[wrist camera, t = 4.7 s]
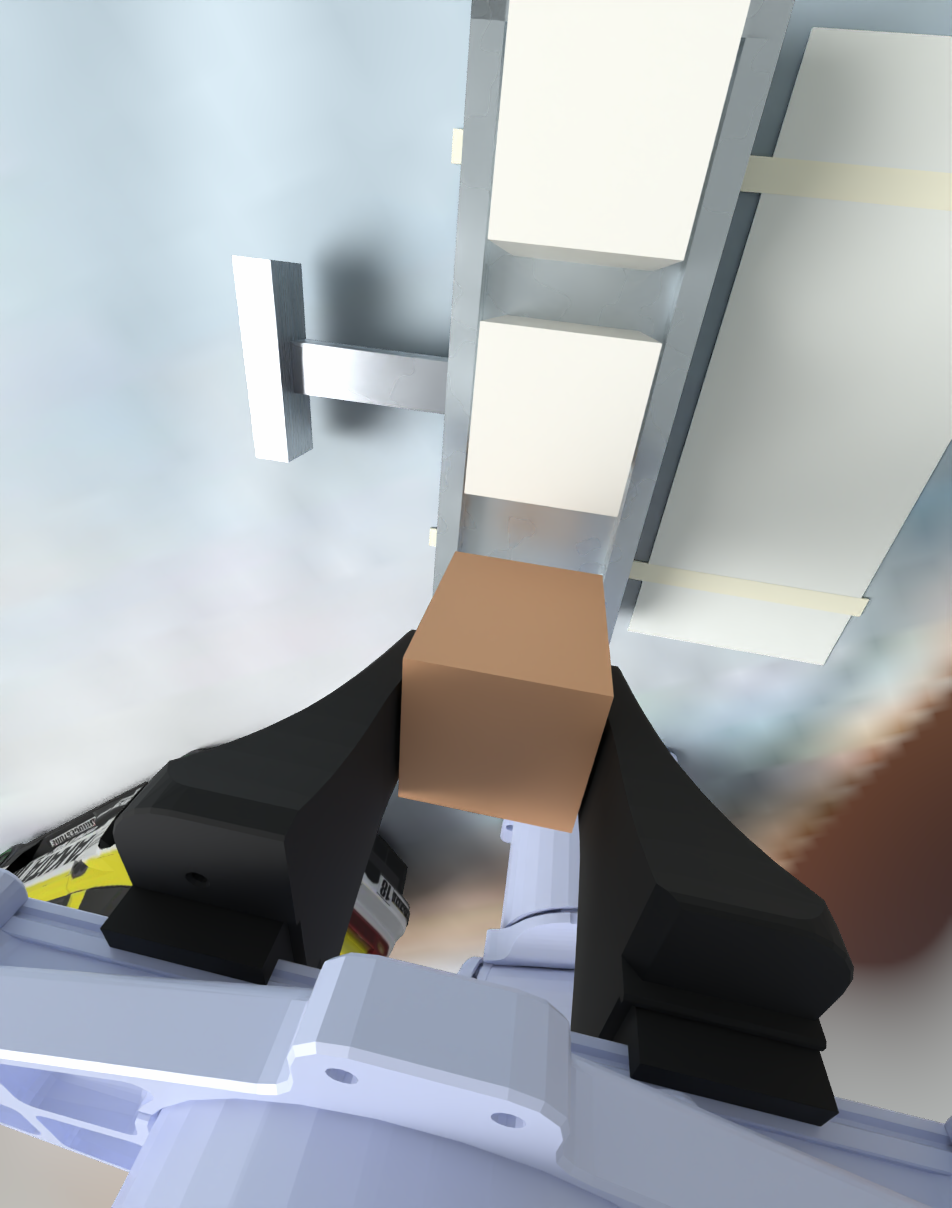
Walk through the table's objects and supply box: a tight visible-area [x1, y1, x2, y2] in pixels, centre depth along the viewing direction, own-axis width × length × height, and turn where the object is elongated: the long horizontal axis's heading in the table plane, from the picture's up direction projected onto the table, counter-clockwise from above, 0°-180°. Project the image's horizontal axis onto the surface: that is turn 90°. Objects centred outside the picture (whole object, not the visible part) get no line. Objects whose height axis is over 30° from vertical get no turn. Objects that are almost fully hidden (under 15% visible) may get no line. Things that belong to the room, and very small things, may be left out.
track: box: [429, 27, 952, 665], centre depth 18 cm, size 19×18×1 cm
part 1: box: [488, 0, 751, 271], centre depth 12 cm, size 4×4×5 cm
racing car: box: [0, 750, 410, 957], centre depth 35 cm, size 17×39×12 cm, turn 124°
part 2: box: [464, 315, 662, 517], centre depth 15 cm, size 4×4×5 cm
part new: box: [398, 551, 614, 833], centre depth 13 cm, size 4×4×5 cm
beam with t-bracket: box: [232, 0, 795, 644], centre depth 18 cm, size 18×14×3 cm
